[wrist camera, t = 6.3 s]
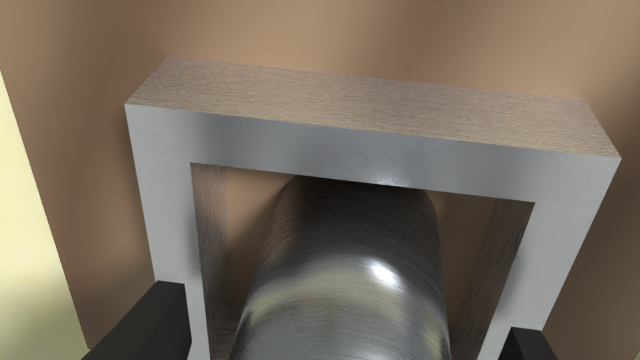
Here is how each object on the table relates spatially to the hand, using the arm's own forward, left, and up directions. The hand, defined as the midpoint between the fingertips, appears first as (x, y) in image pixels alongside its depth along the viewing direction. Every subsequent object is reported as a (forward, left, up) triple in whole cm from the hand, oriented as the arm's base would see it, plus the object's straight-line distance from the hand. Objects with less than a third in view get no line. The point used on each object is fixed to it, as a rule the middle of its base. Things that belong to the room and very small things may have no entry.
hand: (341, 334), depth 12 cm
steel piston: (0, 0, -3) cm, 3 cm away
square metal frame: (0, 0, -3) cm, 3 cm away
